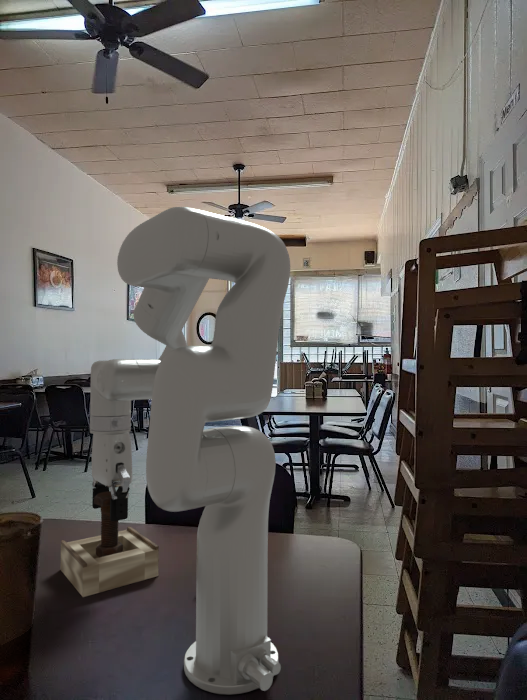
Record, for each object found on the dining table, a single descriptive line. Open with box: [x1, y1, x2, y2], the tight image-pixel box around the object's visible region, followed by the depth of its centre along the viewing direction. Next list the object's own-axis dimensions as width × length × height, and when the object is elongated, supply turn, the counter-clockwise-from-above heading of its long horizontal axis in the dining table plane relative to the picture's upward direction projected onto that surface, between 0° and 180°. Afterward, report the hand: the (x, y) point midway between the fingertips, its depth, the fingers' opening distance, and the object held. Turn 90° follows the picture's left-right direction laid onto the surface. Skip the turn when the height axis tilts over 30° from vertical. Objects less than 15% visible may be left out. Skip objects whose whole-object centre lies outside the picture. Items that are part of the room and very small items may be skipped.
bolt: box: [94, 490, 123, 558], centre depth 93 cm, size 6×5×15 cm
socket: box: [60, 526, 160, 598], centre depth 94 cm, size 14×14×6 cm
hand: (109, 513), depth 94 cm, fingers open, 9 cm apart
